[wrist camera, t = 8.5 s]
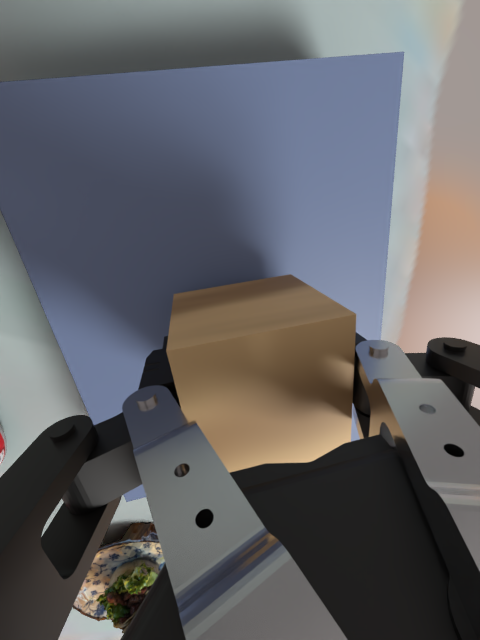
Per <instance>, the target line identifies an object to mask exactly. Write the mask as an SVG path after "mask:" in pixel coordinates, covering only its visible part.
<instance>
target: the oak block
mask: <svg viewBox="0 0 480 640" xmlns="http://www.w3.org/2000/svg"><path fill="white" fill-rule="evenodd" d="M355 336H356V314H355V313H354V312H352V311H350V310H349V309H347V308H345V307H344V306H342V305H340V304H339V303H337V302H336V301H334V300H332V299H331V298H329V297H327V296H326V295H324V294H322V293H321V292H319V291H317V290H316V289H314V288H313V287H311V286H309V285H308V284H306V283H304V282H303V281H301V280H299V279H298V278H296V277H294V276H293V275H291V274H289V275H283V276H277V277H271V278H265V279H259V280H253V281H247V282H242V283H236V284H230V285H224V286H218V287H212V288H206V289H200V290H194V291H188V292H182V293H177V294H174V296H173V303H172V311H171V319H170V326H169V334H168V342H167V349H166V352H167V356H168V360H169V364H170V367H171V371H172V375H173V379H174V383H175V387H176V391H177V395H178V399H179V402H180V406H181V410H182V412H183V413H184V415H185V417H186V418H187V420H188V421H189V422H190V421H193V420H194V421H195V422H196V423H197V424H198V426H199V427H200V429H201V430H202V432H203V433H204V435H205V437H206V438H207V440H208V441H209V443H210V444H211V446H212V447H213V449H214V450H215V452H216V453H217V455H218V456H219V458H220V459H221V461H222V463H223V464H224V466H225V467H226V469H227V470H228V472H229V473H230V472H234V471H238V470H242V469H246V468H250V467H254V466H258V465H262V464H265V463H306V462H311V461H314V460H316V459H317V458H319V457H321V456H323V455H324V454H326V453H328V452H330V451H332V450H333V449H335V448H337V447H339V446H340V445H342V444H344V443H347V442H351V425H352V403H353V380H354V358H355Z"/></svg>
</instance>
